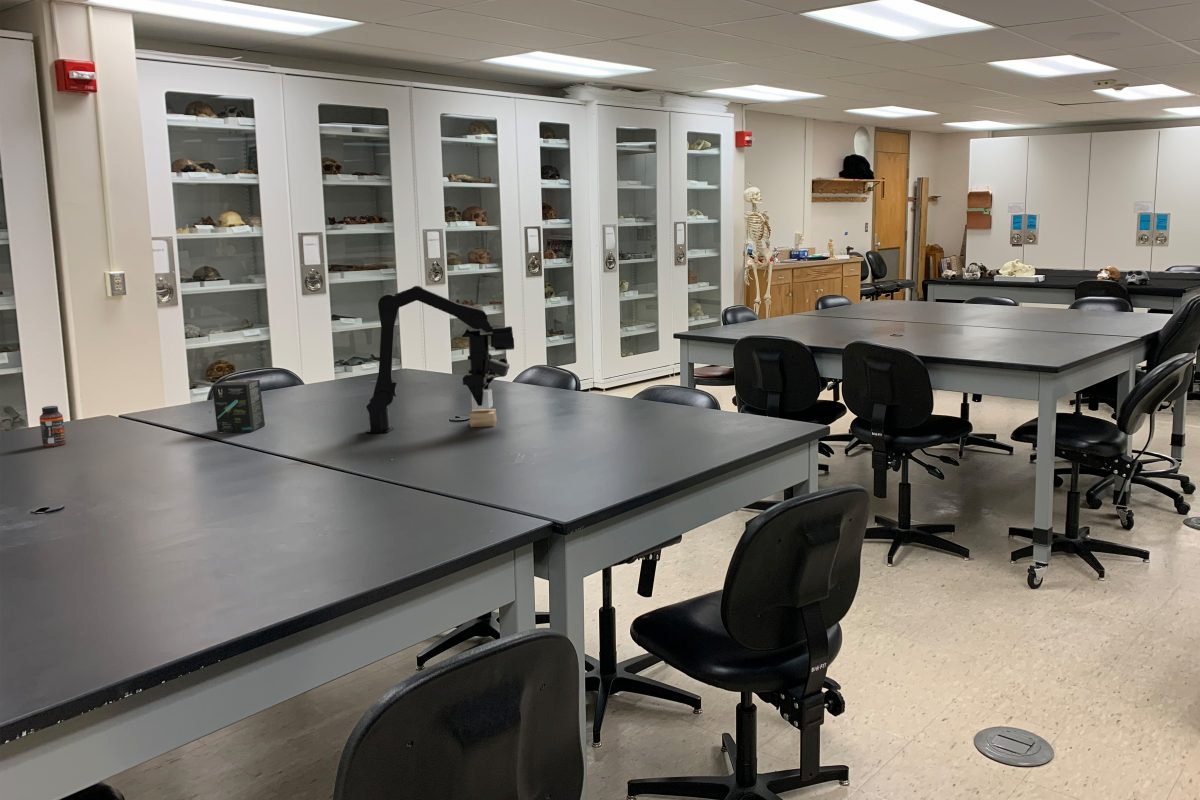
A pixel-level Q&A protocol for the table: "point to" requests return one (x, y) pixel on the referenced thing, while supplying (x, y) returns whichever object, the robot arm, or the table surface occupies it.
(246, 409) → the tampon box
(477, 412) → the oak block
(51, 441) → the supplement bottle
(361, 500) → the table surface
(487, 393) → the white cube
